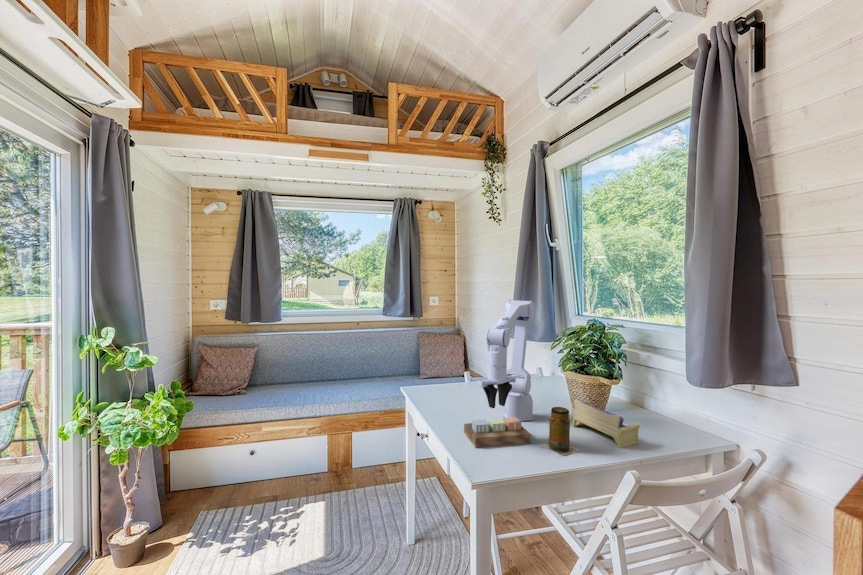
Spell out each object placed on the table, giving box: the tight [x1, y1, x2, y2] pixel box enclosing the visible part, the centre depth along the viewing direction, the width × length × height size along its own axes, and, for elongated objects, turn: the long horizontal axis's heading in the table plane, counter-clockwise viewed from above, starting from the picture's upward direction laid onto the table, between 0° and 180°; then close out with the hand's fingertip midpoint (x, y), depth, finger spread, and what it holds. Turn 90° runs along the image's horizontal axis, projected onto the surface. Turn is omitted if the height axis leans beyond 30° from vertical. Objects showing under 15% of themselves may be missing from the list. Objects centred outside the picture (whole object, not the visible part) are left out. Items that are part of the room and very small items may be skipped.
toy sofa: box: [571, 398, 641, 449], centre depth 135 cm, size 21×9×10 cm, turn 26°
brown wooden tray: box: [463, 422, 532, 449], centre depth 131 cm, size 18×12×3 cm, turn 102°
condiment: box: [542, 406, 581, 456], centre depth 124 cm, size 7×8×12 cm
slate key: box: [471, 419, 489, 433], centre depth 129 cm, size 4×4×3 cm
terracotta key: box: [502, 417, 522, 431], centre depth 132 cm, size 4×4×3 cm
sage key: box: [487, 417, 506, 432], centre depth 131 cm, size 4×4×3 cm
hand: (496, 406), depth 130 cm, fingers open, 4 cm apart
